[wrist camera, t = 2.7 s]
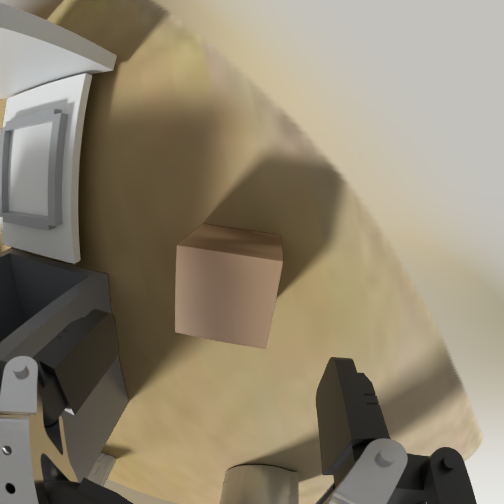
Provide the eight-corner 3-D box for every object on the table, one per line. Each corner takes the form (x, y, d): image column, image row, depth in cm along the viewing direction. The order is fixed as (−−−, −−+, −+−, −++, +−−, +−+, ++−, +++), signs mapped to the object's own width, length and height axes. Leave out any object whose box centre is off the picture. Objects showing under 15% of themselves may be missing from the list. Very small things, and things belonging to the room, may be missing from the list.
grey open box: (107, 274, 19) (-6, 366, 7) (129, 401, 24) (81, 488, 12) (10, 248, 20) (-76, 293, 8) (39, 361, 24) (-14, 419, 13)
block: (281, 234, 17) (283, 261, 12) (268, 304, 19) (266, 348, 14) (203, 223, 17) (176, 245, 13) (198, 293, 19) (175, 332, 14)
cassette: (77, 450, 33) (62, 476, 25) (71, 444, 32) (55, 470, 25) (118, 460, 30) (103, 493, 23) (112, 454, 30) (95, 487, 23)
